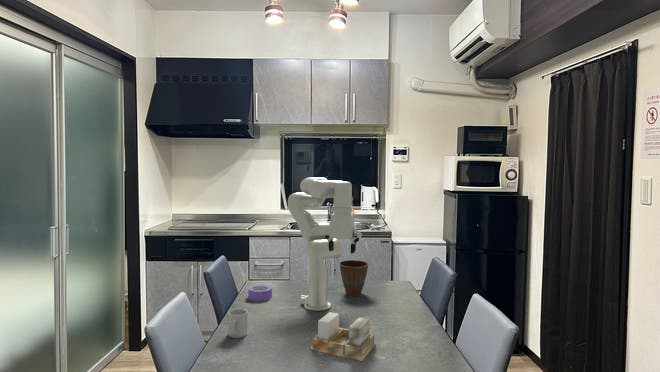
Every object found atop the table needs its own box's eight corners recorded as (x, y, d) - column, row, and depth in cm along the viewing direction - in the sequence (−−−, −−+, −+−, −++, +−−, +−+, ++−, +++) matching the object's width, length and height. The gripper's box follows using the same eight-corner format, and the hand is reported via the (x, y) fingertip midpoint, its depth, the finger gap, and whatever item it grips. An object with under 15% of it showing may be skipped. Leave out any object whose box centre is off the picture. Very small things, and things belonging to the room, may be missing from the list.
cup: (249, 331, 163) (249, 309, 162) (241, 341, 153) (241, 318, 152) (232, 330, 163) (232, 308, 163) (223, 340, 153) (223, 317, 153)
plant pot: (368, 298, 205) (369, 267, 205) (339, 298, 205) (339, 266, 205) (366, 289, 220) (367, 260, 219) (339, 289, 220) (339, 260, 220)
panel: (317, 345, 148) (318, 320, 147) (329, 335, 157) (329, 312, 157) (327, 347, 146) (328, 322, 146) (338, 337, 155) (339, 313, 155)
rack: (310, 349, 147) (311, 322, 146) (327, 335, 160) (327, 309, 159) (362, 361, 138) (362, 332, 138) (375, 344, 152) (375, 318, 151)
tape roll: (276, 297, 206) (276, 287, 205) (258, 303, 197) (258, 292, 197) (261, 292, 213) (261, 283, 213) (243, 297, 205) (243, 287, 204)
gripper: (319, 210, 170) (319, 251, 171) (358, 213, 163) (358, 255, 164) (327, 209, 177) (327, 248, 178) (365, 211, 170) (364, 252, 171)
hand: (341, 251), depth 171 cm, fingers open, 9 cm apart
